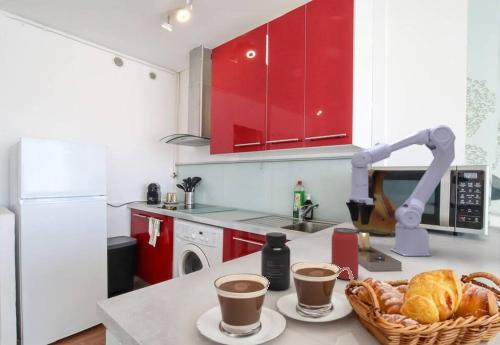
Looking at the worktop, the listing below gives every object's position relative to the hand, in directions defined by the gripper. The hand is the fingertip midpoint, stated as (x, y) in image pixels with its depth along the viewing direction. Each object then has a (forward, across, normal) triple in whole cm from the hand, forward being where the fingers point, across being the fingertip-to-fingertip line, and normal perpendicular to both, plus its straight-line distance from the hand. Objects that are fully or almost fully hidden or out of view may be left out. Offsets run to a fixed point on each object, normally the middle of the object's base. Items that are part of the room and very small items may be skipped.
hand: (359, 222), depth 97 cm
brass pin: (+9, +11, -4) cm, 15 cm away
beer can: (+10, +26, -17) cm, 33 cm away
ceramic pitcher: (+10, -27, +21) cm, 36 cm away
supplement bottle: (+10, +31, -36) cm, 48 cm away
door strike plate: (+9, +11, -4) cm, 15 cm away
